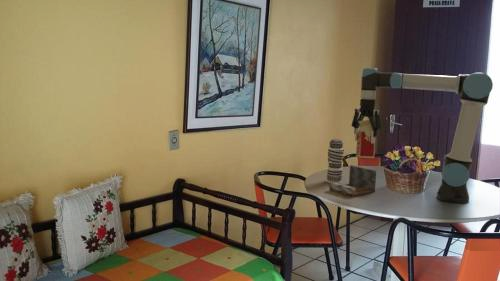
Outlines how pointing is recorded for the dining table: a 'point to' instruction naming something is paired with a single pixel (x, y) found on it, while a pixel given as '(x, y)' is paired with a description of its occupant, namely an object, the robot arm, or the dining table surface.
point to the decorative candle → (335, 161)
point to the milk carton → (365, 140)
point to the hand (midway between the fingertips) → (364, 141)
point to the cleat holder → (356, 182)
